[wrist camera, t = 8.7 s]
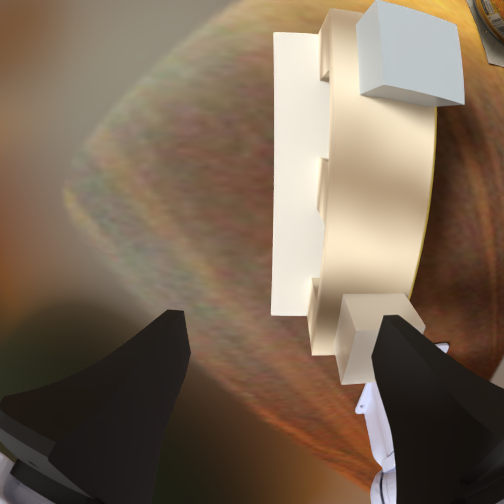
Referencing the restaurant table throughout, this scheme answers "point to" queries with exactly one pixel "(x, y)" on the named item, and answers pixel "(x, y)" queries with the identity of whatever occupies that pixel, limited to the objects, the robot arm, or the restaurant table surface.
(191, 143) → the restaurant table surface
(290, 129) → the dock
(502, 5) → the condiment
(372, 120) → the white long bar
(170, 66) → the restaurant table surface
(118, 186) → the restaurant table surface
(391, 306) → the block
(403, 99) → the light grey square block
